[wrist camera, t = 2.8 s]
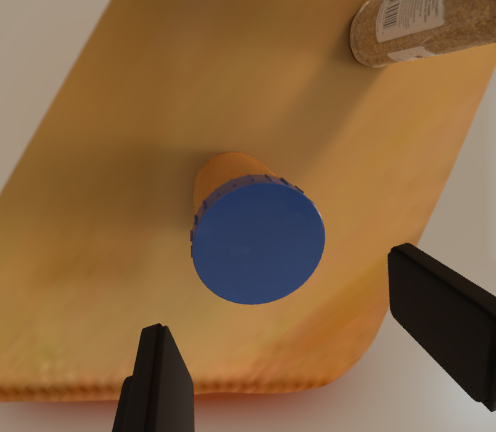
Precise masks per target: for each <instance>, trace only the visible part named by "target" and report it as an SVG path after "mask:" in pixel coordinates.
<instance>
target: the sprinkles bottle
mask: <svg viewBox="0 0 496 432" xmlns="http://www.w3.org/2000/svg"><path fill="white" fill-rule="evenodd" d="M491 43H496V0H368V1H367V2H365V3H364V4H363V5H362V6H361V7H360V9H359V10H358V12H357V13H356V15H355V18H354V20H353V22H352V25H351V30H350V45H351V48H352V52H353V54H354V56H355V58H356V59H357V60H358V61H359V62H360V63H361V64H363V65H365V66H367V67H371V68H378V67H383V66H386V65H388V64H391V63H396V62H404V61H411V60H416V59H422V58H427V57H431V56H436V55H441V54H446V53H452V52H456V51H461V50H465V49H468V48H471V47H474V46H481V45H486V44H491Z"/></svg>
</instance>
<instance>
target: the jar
mask: <svg viewBox="0 0 496 432" xmlns="http://www.w3.org/2000/svg"><path fill="white" fill-rule="evenodd" d="M265 173H266V174H268V175H269V176H274V177H277V176H276V175H275V174H274V173H272V172H271V171H270V170H269V169H268V168H267V167H265V166H264V165H263V164H262V163H261V162H260V161H258V160H257V159H256V158H254V157H252V156H250V155H248V154H245V153H240V152H228V153H223V154H220V155H217V156H215V157H213V158H212V159H210V160H209V161H208V162H207V163H205V164H204V166H203V167H202V168H201V169H200V171H199V172H198V174H197V176H196V179H195V182H194V187H193V199H194V215H196V214H197V212H198V210H199V208H200V206H201V205H202V201H203V200H205V199H206V198H207V197H208V196H209V195H210V194H211V193H212V192H213V191H214V190H215V188H216V187H217V188H218V187H220V186H221V185H223V184H224V183H226V182H228V181H230V179H231V178H232V179H236V178H238V177H242V176H247V174H250V175H256V174H259V175H265ZM277 178H278V177H277Z"/></svg>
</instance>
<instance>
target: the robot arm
mask: <svg viewBox="0 0 496 432" xmlns="http://www.w3.org/2000/svg"><path fill="white" fill-rule="evenodd" d="M388 275H389V297H390V310H391V313H392V315H393V317H394V318H395V319H396V320H397V321H398V323H399V324H400V325H401V326H403V328H404V329H405V330H406V331H407V332H408V333H409V334H410V335H411V336H412V337H413V338H414V339H415V340H416V341H417V342H418V343H419V344H420V345H421V346H422V347H423V348H424V349H425V350H426V351H427V352H428V353H429V355H431V357H432V358H433V359H434V360H435V361H436V362H437V363H438V364H439V365H440V366H441V367H442V368H443V369H444V370H445V371H446V372H447V373H448V374H449V375H450V376H451V377H452V378H453V379H454V380H455V381H456V382H457V383H458V384H459V385H460V386H461V388H463V390H464V391H465V392H467V394H468V395H469V396H470V397H471V398H473V400H475V401H477V402H482V403H483V404H484V405H485V406H486V407H487V408H488V409H489V410H490V411H491V412H493V411H495V410H496V297H495V296H494V295H492V294H491V293H489V292H487V291H486V290H484V289H483V288H481V287H479V286H478V285H476V284H474V283H473V282H471V281H469V280H468V279H466V278H465V277H463V276H462V275H460V274H458V273H457V272H455V271H454V270H452V269H450V268H449V267H447V266H445V265H444V264H442V263H441V262H439V261H438V260H436V259H434V258H433V257H431V256H430V255H428V254H426V253H425V252H423V251H421V250H420V249H418V248H417V247H415V246H413V245H412V244H410V243H405V244H402V245H399V246H395V247H393V248H392V249H391V252H390V253H388ZM112 432H194V389H193V382H192V379H191V376H190V374H189V372H188V370H187V367H186V365H185V363H184V361H183V359H182V356H181V354H180V352H179V350H178V348H177V345H176V343H175V341H174V339H173V337H172V334H171V332H170V330H169V328H168V326H163V327H162V325H161V324H160V323H158V324H155V325H152V326H149V327H146V328H143V329H142V332H141V336H140V341H139V346H138V351H137V356H136V361H135V366H134V371H133V375H132V376H129V377H127V378H126V379H125V380H124V383H123V386H122V390H121V395H120V399H119V403H118V408H117V412H116V416H115V421H114V425H113V429H112Z"/></svg>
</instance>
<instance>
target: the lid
mask: <svg viewBox="0 0 496 432" xmlns="http://www.w3.org/2000/svg"><path fill="white" fill-rule="evenodd" d="M303 193H304V192H303V191H302V190H300V189H299V188H298V187H297V186H293V185H291V184H290V183H288V182H287V181H286V180H285V179H284V178H282V177H281V179H280V178H277V177H274V176H269V175H268V174H266V173H265V175H259V174H256V175H250V174H247V176H242V177H238V178H236V179H232V178H231V179H230V181H228V182H226V183H224V184H223V185H221V186H220V187H218V188H217V187H216V188H215V190H214V191H213V192H212V193H211V194H210V195H209V196H208V197H207V198H206V199H205V200H203V201H202V205H201V206H200V208H199V210H198V212H197V214H196V215H194V223H193V228H192V230H190V241H192V246H191V257H193V262H194V266H195V269H196V271H197V274H198V276H199V277H200V279H201V280H202V282H203V283H204V284H205V285H206V286H207V288H209V289H210V290H211V291H212V292H213V293H215V294H216V295H218V296H219V297H221V298H223V299H226V300H228V301H231V302H234V303H239V304H249V305H253V304H263V303H268V302H272V301H275V300H278V299H281V298H283V297H285V296H287V295H289V294H290V293H292V292H293V291H295V290H296V289H298V288H299V287H300V286H301V285H303V284H304V283H305V282H306V281H307V280H308V278H309V277H310V276H311V275H312V273H313V272H314V270H315V269H316V267H317V266H318V263H319V261H320V259H321V256H322V253H323V249H324V245H325V229H324V224H323V220H322V218H321V215H320V213H319V211H318V210H317V208H316V206H315V205H314V203H313V202H312V201H311V200H310V199H309V198H307V197H306V196H305V195H304V194H303Z"/></svg>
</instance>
